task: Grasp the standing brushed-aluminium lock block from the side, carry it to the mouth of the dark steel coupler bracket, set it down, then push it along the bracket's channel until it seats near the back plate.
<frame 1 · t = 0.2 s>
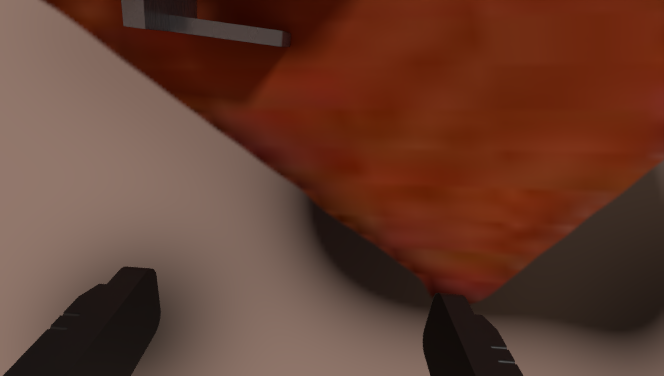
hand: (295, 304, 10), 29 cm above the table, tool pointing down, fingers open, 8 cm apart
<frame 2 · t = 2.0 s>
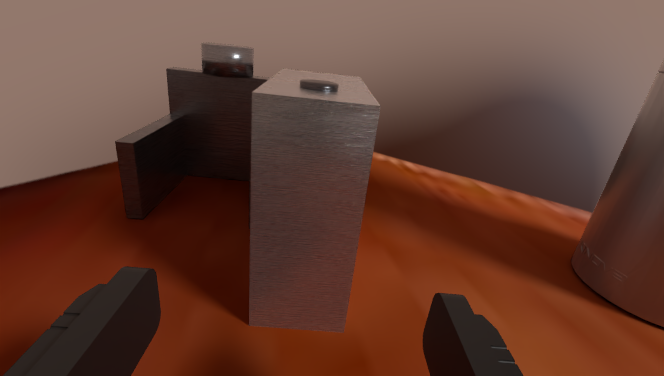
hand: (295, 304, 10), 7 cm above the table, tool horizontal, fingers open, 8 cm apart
coupler: (214, 198, 31), on the table
lock block: (303, 270, 23), on the table
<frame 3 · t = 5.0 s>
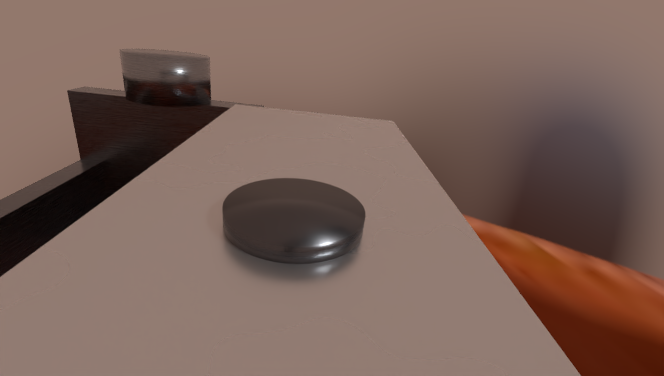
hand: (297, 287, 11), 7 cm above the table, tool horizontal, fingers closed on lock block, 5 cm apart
coupler: (144, 299, 19), on the table
when the fingers open (7 cm above the table, at t = 9.2 s): lock block stays where it is, on the table.
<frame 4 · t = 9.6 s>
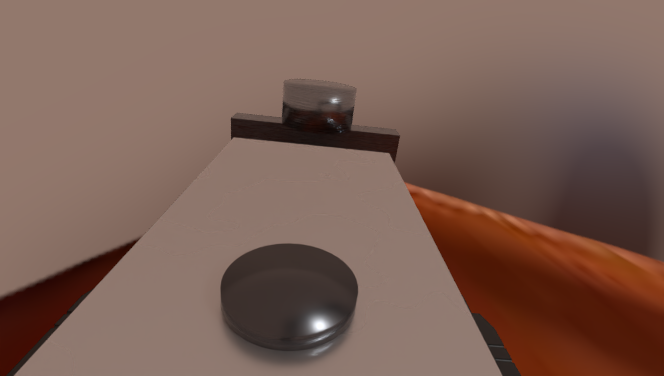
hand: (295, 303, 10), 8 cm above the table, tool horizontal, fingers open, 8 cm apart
coupler: (299, 305, 21), on the table
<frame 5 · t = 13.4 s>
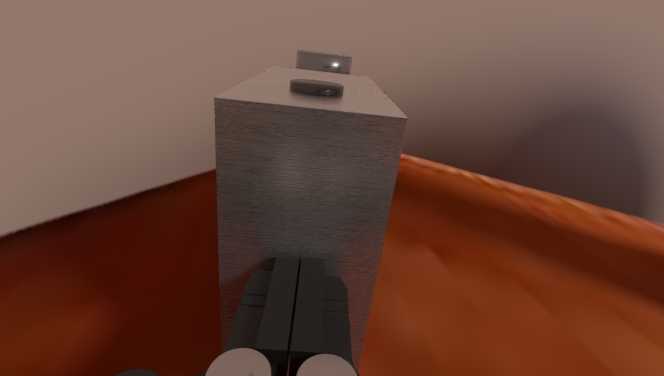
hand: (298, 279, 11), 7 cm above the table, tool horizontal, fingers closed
coupler: (308, 221, 28), on the table
lock block: (297, 317, 18), on the table, touching gripper
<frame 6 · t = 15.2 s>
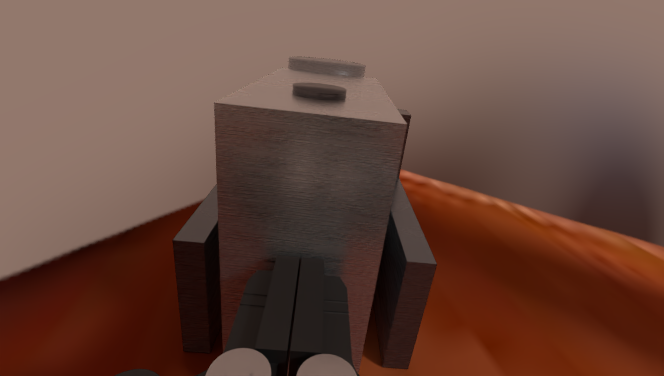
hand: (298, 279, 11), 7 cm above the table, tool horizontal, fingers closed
coupler: (304, 293, 20), on the table
lock block: (302, 318, 18), on the table, touching coupler, gripper
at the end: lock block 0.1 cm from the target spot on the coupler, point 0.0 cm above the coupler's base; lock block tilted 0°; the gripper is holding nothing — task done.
